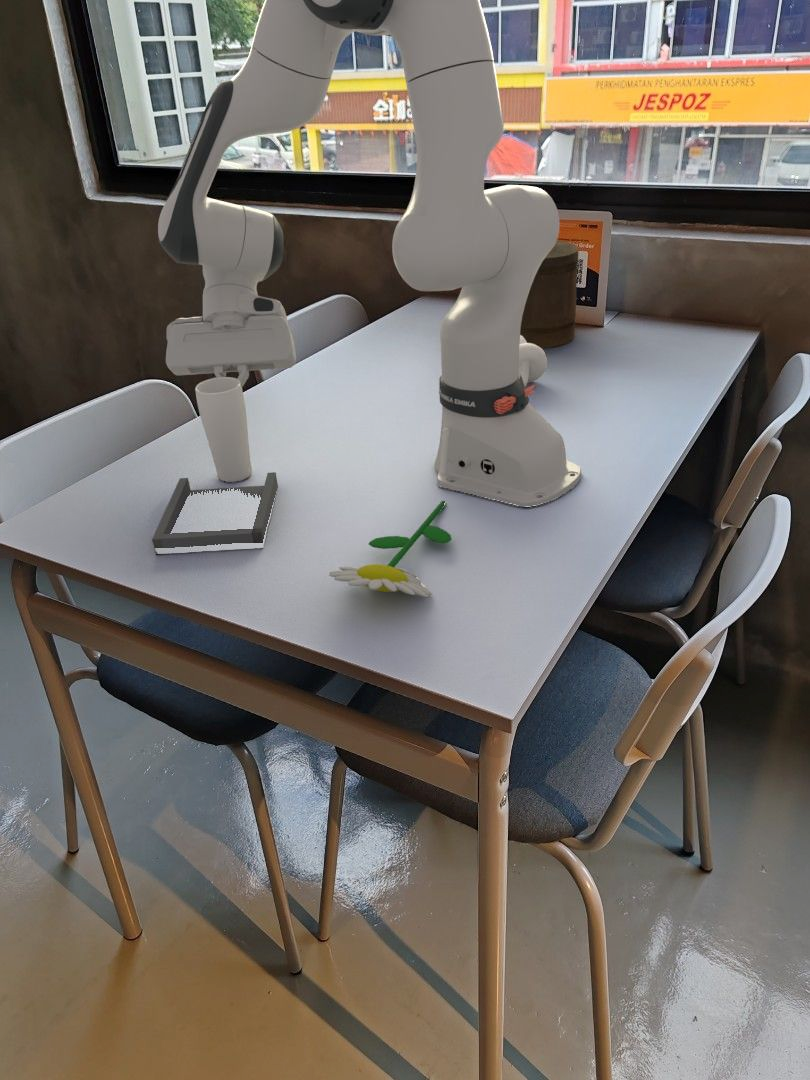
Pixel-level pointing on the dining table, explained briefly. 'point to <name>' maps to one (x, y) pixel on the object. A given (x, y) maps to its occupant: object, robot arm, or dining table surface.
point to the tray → (205, 538)
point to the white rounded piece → (531, 361)
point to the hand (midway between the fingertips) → (231, 395)
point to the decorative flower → (394, 562)
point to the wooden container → (552, 299)
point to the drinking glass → (225, 426)
